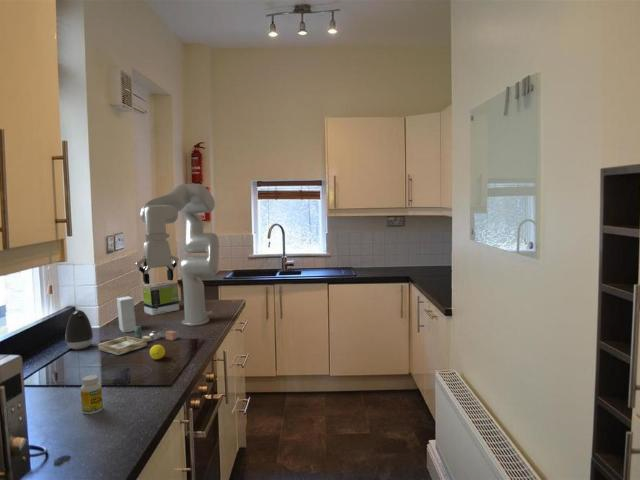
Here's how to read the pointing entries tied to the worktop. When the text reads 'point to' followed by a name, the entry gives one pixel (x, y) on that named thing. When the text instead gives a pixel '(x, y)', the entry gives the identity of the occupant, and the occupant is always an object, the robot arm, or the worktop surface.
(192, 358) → the worktop surface
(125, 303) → the skincare box
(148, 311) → the tea box
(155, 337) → the hub
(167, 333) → the pink rectangular block
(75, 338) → the grey dome gadget
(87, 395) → the supplement bottle
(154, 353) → the lemon
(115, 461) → the worktop surface
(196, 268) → the robot arm
